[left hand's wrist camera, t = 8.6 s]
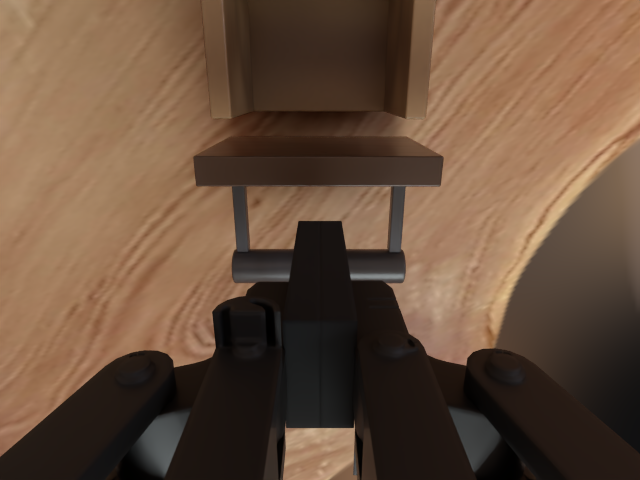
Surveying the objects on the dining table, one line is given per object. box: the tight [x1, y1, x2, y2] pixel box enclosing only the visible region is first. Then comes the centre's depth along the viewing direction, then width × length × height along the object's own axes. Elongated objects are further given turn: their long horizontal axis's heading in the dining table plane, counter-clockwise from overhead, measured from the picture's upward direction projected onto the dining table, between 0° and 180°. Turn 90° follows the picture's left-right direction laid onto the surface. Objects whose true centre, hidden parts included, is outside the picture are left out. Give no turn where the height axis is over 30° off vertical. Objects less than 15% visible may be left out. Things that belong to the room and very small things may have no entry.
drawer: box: [193, 0, 443, 283], centre depth 17 cm, size 25×10×7 cm, turn 0°
